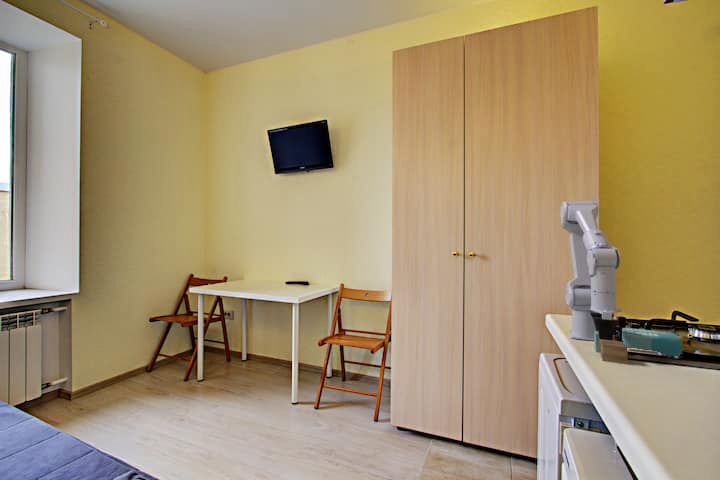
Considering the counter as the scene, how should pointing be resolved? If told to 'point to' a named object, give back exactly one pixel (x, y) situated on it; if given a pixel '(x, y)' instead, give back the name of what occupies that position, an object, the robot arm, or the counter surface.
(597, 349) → the teal block
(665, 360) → the counter surface
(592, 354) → the counter surface
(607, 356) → the walnut slab lower
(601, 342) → the walnut slab upper
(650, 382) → the counter surface
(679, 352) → the data package
